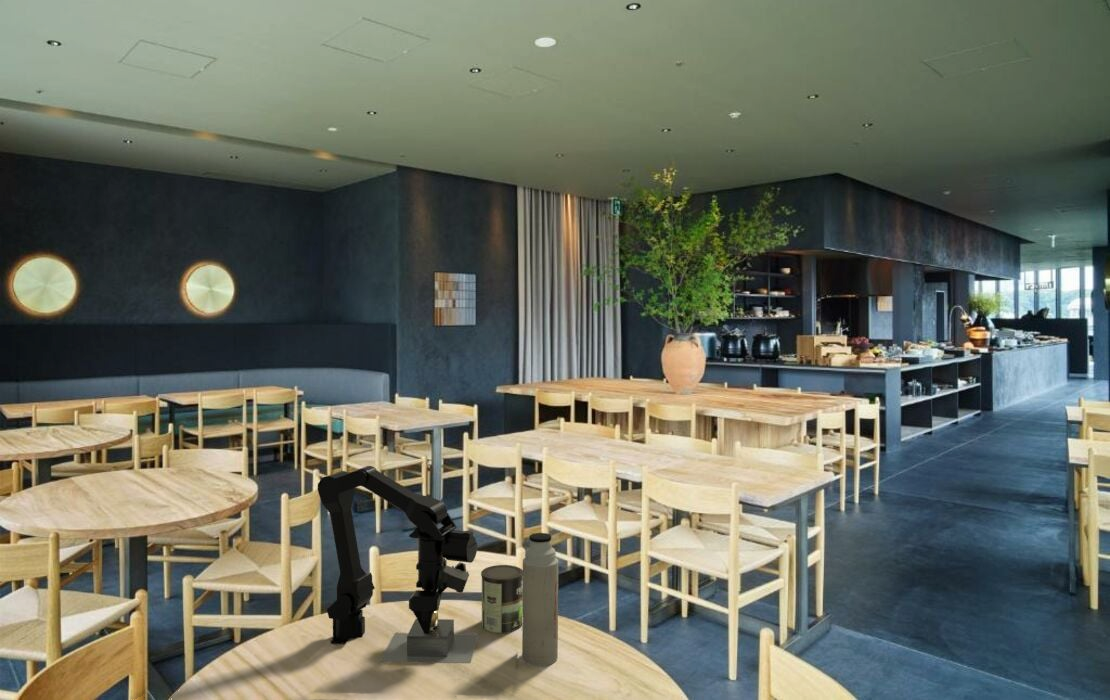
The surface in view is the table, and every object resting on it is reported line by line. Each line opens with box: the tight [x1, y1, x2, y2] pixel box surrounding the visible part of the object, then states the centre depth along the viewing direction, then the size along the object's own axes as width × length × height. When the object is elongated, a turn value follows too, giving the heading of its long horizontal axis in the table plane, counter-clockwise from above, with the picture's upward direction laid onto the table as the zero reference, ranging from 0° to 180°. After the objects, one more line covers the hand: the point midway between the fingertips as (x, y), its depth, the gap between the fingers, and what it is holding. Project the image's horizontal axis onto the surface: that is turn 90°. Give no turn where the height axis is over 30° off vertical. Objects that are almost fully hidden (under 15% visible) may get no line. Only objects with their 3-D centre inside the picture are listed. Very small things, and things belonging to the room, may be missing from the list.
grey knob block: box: [407, 618, 455, 657], centre depth 164 cm, size 9×9×5 cm
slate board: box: [379, 632, 479, 664], centre depth 164 cm, size 20×14×1 cm
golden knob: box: [430, 610, 439, 630], centre depth 164 cm, size 4×4×8 cm
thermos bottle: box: [521, 532, 559, 667], centre depth 161 cm, size 8×8×28 cm
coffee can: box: [480, 564, 523, 634], centre depth 176 cm, size 10×10×14 cm
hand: (430, 624), depth 163 cm, fingers open, 9 cm apart
